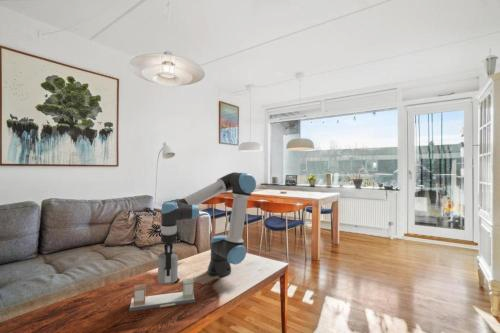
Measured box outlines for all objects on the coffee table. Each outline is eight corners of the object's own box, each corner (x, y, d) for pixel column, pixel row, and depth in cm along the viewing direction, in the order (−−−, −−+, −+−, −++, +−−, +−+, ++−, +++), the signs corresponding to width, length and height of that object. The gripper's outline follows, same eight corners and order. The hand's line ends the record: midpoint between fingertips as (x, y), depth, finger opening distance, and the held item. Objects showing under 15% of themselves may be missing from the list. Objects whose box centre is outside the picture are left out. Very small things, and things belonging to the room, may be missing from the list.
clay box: (145, 300, 129) (145, 284, 129) (144, 304, 126) (145, 288, 125) (134, 301, 128) (134, 285, 128) (133, 305, 124) (133, 289, 124)
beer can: (180, 276, 135) (181, 253, 135) (171, 285, 126) (172, 259, 126) (163, 274, 137) (164, 251, 137) (153, 282, 128) (154, 257, 128)
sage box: (192, 293, 137) (192, 278, 136) (193, 297, 133) (193, 282, 132) (182, 295, 135) (183, 279, 135) (183, 299, 131) (183, 283, 131)
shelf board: (192, 292, 140) (192, 288, 140) (195, 304, 129) (195, 299, 129) (132, 300, 131) (132, 295, 131) (128, 314, 120) (128, 308, 119)
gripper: (161, 228, 141) (160, 269, 141) (160, 240, 119) (159, 288, 120) (175, 227, 143) (174, 267, 143) (177, 239, 122) (176, 286, 122)
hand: (167, 277), depth 131 cm, fingers closed on beer can, 9 cm apart
